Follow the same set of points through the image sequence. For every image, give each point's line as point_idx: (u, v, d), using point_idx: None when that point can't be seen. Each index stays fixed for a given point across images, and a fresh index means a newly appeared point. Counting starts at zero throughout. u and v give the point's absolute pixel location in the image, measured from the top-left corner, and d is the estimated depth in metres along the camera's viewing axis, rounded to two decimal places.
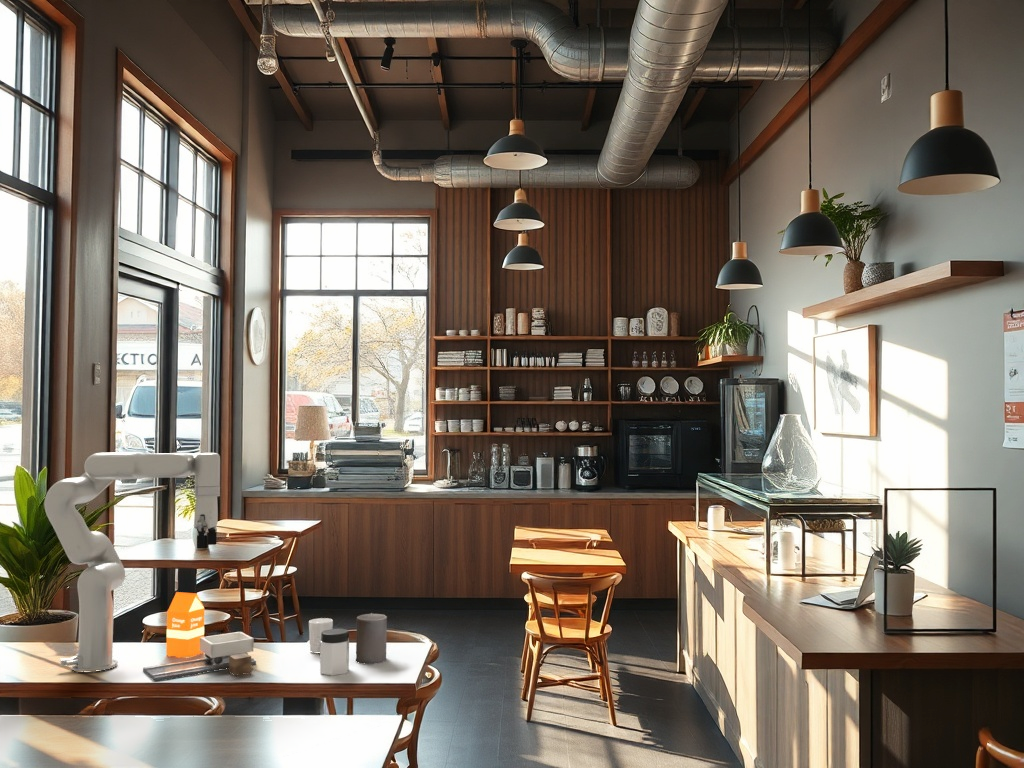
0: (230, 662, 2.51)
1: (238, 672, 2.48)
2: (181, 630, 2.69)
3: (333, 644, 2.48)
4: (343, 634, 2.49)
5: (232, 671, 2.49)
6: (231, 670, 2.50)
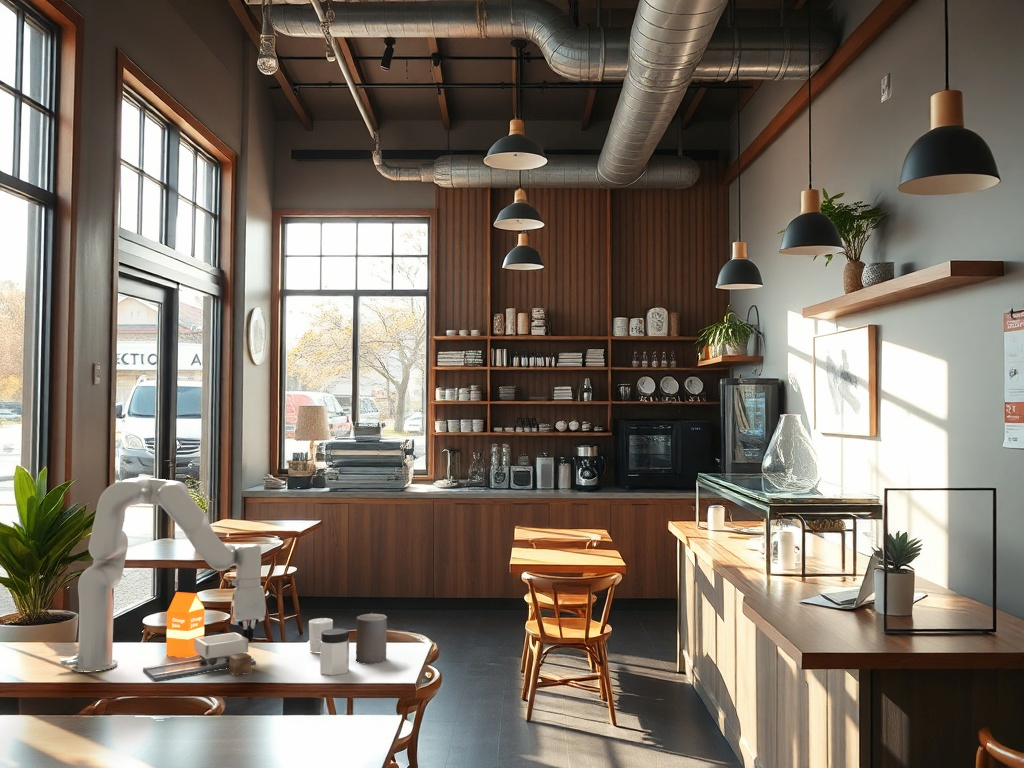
0: (230, 662, 2.51)
1: (238, 672, 2.48)
2: (181, 630, 2.69)
3: (333, 644, 2.48)
4: (343, 634, 2.49)
5: (232, 671, 2.49)
6: (231, 670, 2.50)
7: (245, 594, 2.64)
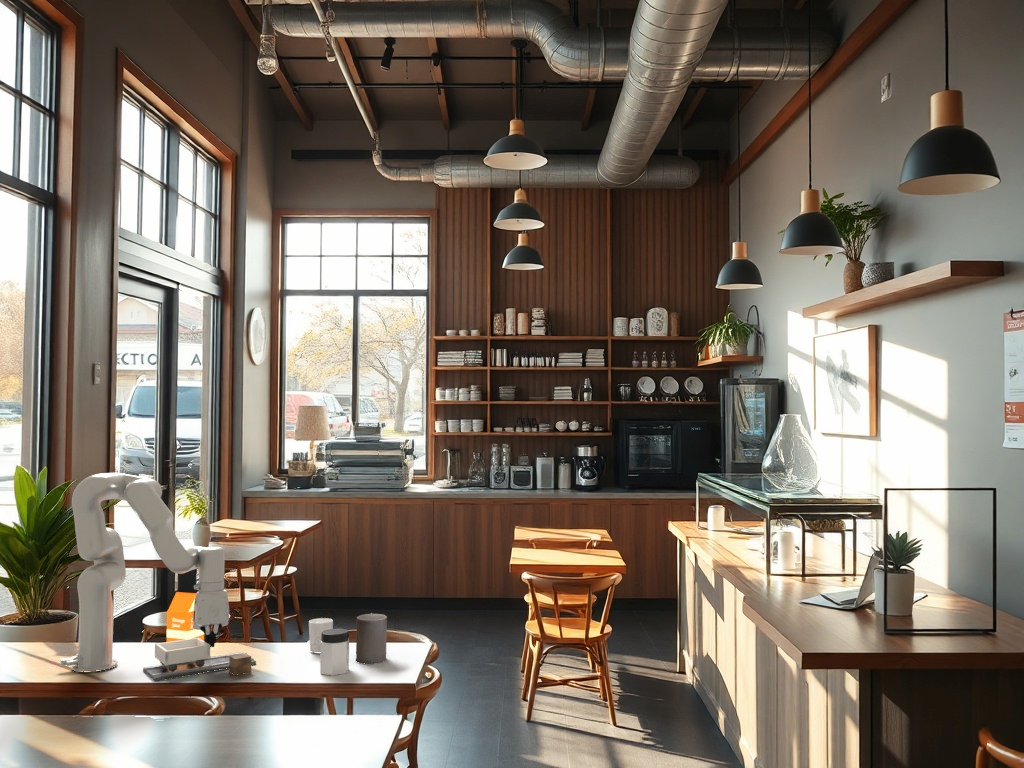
0: (230, 662, 2.51)
1: (238, 672, 2.48)
2: (181, 630, 2.69)
3: (333, 644, 2.48)
4: (343, 634, 2.49)
5: (232, 671, 2.49)
6: (231, 670, 2.50)
7: (208, 598, 2.56)
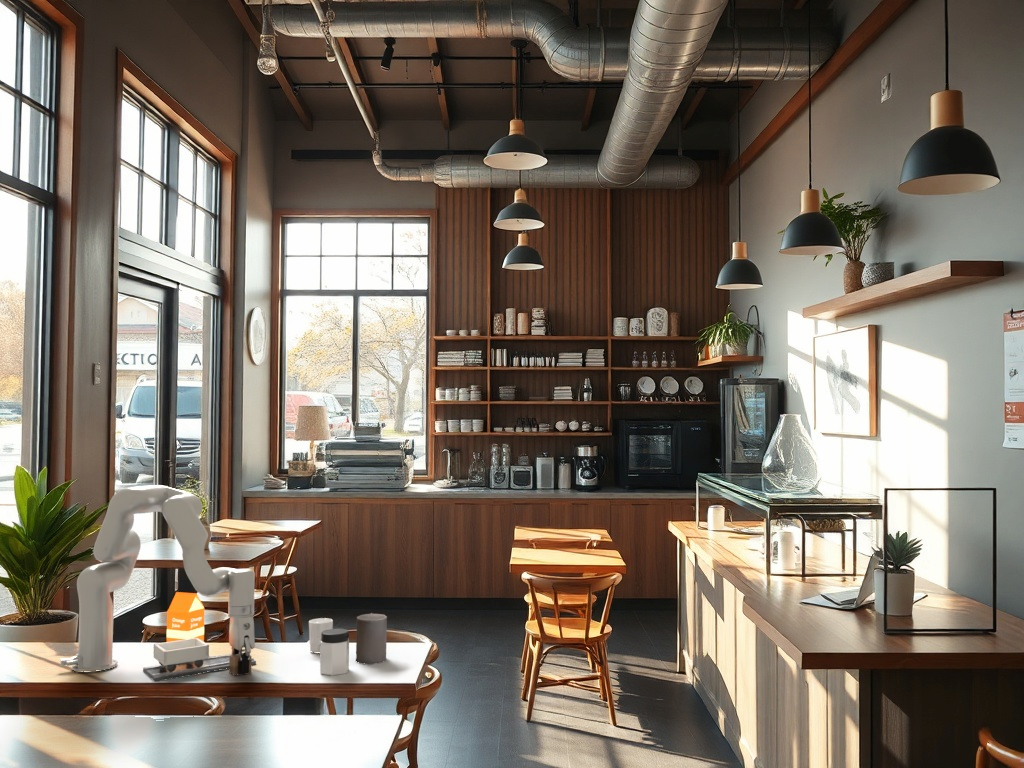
0: (230, 662, 2.51)
1: None
2: (181, 630, 2.69)
3: (333, 644, 2.48)
4: (343, 634, 2.49)
5: (232, 671, 2.49)
6: (231, 670, 2.50)
7: None
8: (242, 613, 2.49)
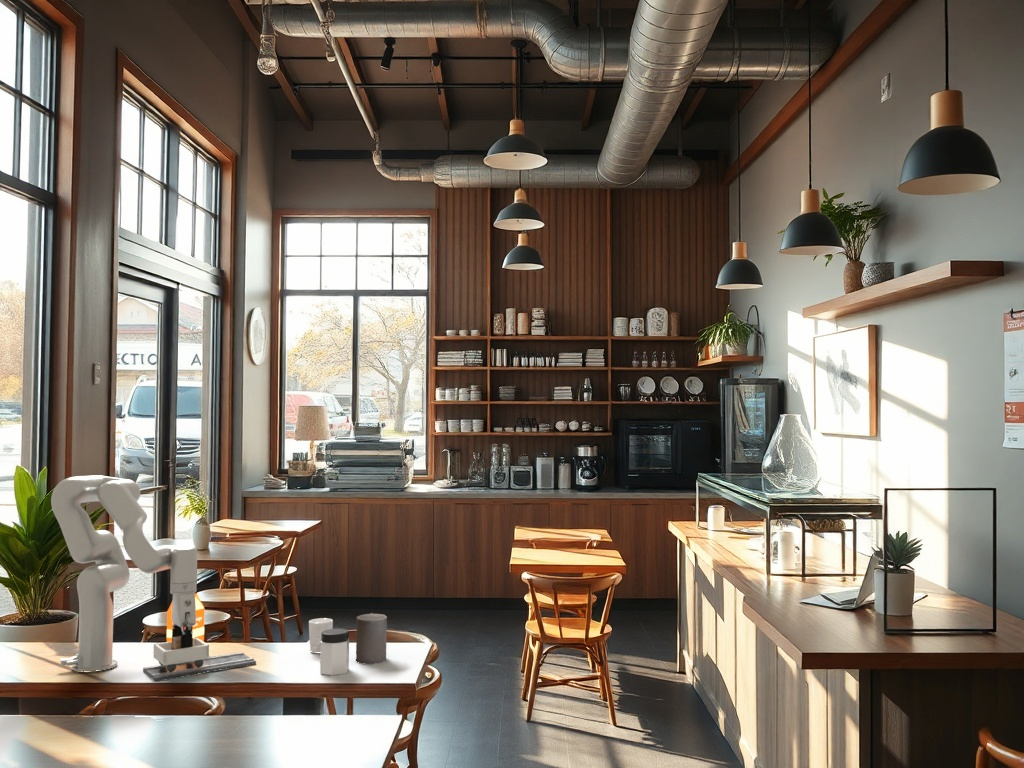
0: (172, 644, 2.53)
1: None
2: None
3: (333, 644, 2.48)
4: (343, 634, 2.49)
5: None
6: None
7: None
8: (183, 590, 2.51)
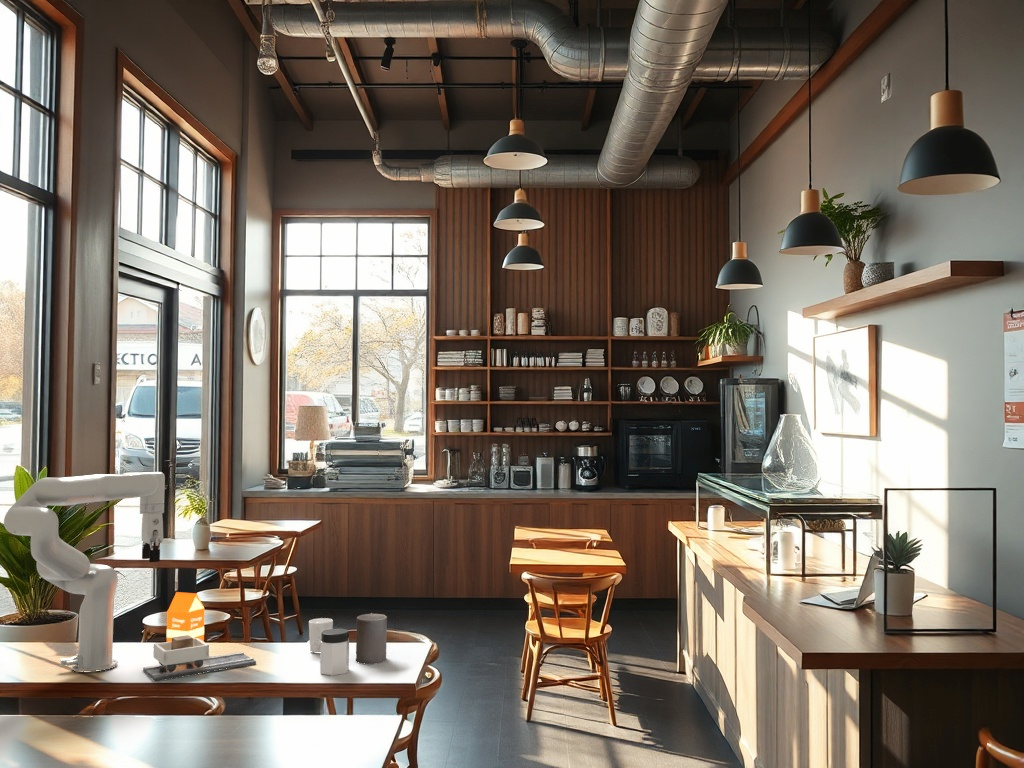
0: (172, 644, 2.53)
1: None
2: (181, 630, 2.69)
3: (333, 644, 2.48)
4: (343, 634, 2.49)
5: None
6: None
7: None
8: (151, 510, 2.75)
